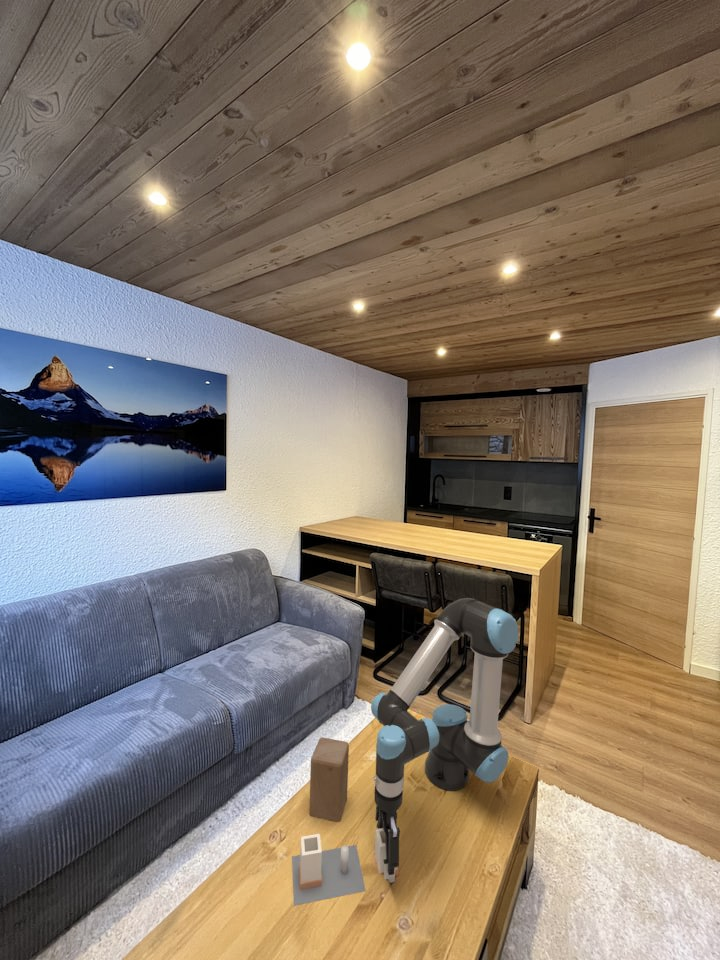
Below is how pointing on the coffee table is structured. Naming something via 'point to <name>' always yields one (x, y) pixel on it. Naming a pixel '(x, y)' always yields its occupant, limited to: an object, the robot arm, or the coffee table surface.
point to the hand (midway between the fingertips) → (385, 866)
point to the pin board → (331, 876)
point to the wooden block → (329, 779)
